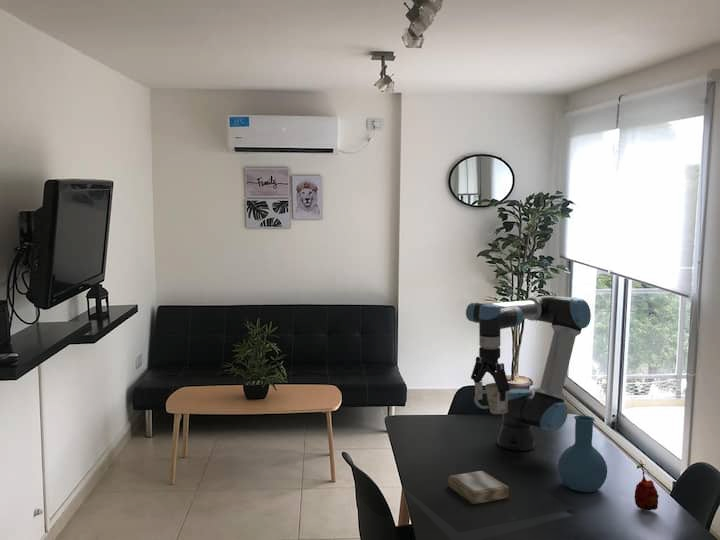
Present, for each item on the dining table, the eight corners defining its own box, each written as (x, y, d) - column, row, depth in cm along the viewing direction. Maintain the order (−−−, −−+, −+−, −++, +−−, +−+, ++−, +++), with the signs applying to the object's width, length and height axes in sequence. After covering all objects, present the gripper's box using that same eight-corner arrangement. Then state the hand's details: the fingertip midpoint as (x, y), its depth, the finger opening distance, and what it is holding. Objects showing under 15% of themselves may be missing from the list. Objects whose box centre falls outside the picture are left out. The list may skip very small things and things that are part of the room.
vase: (582, 500, 220) (585, 427, 218) (547, 482, 235) (549, 414, 233) (617, 491, 228) (619, 421, 226) (580, 475, 242) (583, 409, 241)
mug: (512, 414, 231) (509, 385, 231) (476, 416, 232) (474, 388, 232) (508, 409, 239) (506, 382, 239) (474, 411, 240) (472, 384, 240)
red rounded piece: (645, 513, 211) (647, 468, 209) (628, 504, 217) (630, 460, 216) (662, 509, 214) (664, 465, 213) (645, 501, 220) (647, 457, 219)
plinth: (481, 480, 236) (482, 469, 236) (508, 497, 221) (508, 486, 221) (448, 486, 230) (448, 475, 230) (473, 504, 216) (473, 492, 215)
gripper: (461, 341, 246) (461, 396, 248) (502, 354, 223) (502, 415, 225) (478, 339, 249) (478, 394, 251) (520, 352, 226) (519, 412, 228)
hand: (489, 404), depth 238 cm, fingers open, 13 cm apart
